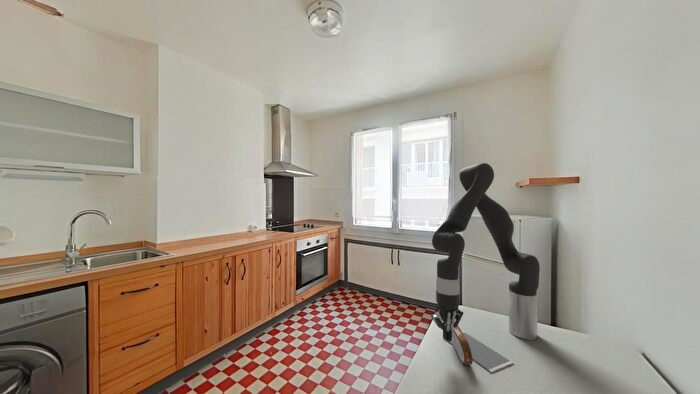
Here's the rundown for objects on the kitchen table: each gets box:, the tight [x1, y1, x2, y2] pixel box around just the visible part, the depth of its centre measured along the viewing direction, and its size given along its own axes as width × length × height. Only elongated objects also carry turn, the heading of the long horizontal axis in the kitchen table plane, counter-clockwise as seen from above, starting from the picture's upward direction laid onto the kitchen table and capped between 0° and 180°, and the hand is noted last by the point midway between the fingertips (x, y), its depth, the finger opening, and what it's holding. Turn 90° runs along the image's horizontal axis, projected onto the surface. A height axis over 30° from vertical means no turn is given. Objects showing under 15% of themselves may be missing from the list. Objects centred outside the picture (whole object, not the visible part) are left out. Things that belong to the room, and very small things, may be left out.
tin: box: [452, 325, 474, 365], centre depth 83 cm, size 15×3×8 cm, turn 174°
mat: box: [442, 331, 514, 374], centre depth 86 cm, size 11×20×1 cm, turn 23°
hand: (447, 340), depth 80 cm, fingers closed
